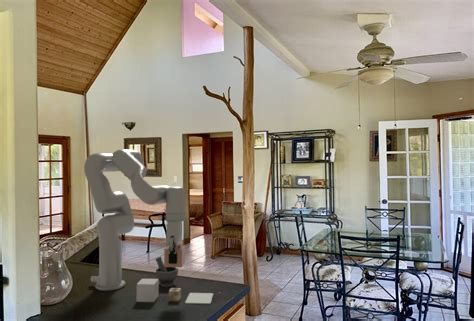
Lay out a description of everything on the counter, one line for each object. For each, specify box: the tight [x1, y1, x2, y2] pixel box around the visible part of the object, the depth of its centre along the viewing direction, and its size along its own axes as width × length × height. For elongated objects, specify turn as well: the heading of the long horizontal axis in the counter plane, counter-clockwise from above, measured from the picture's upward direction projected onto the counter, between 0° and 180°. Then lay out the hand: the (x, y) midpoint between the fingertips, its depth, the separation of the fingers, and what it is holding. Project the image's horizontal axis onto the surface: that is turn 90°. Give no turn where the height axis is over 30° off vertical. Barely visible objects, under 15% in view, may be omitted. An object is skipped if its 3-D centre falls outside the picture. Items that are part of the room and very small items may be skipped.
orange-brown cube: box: [163, 244, 186, 268], centre depth 149 cm, size 7×7×7 cm
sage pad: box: [184, 292, 214, 305], centre depth 149 cm, size 10×11×1 cm
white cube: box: [136, 278, 160, 303], centre depth 149 cm, size 7×7×7 cm
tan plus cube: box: [168, 287, 182, 302], centre depth 149 cm, size 4×4×4 cm
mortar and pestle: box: [155, 256, 179, 288], centre depth 167 cm, size 11×9×12 cm
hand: (174, 260), depth 149 cm, fingers closed on orange-brown cube, 7 cm apart
